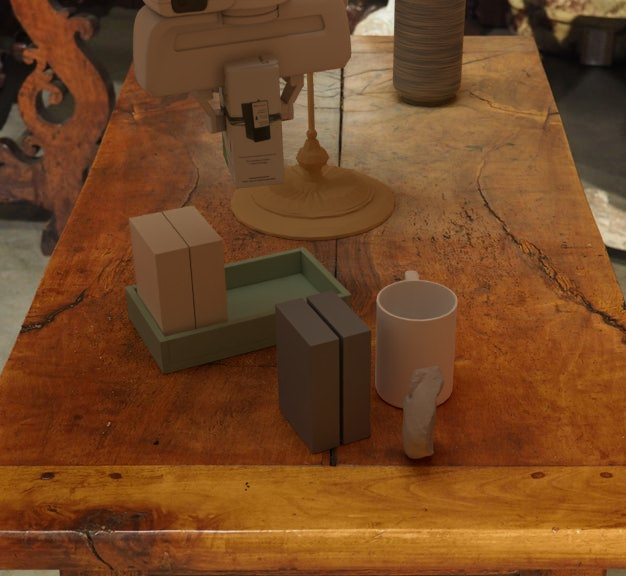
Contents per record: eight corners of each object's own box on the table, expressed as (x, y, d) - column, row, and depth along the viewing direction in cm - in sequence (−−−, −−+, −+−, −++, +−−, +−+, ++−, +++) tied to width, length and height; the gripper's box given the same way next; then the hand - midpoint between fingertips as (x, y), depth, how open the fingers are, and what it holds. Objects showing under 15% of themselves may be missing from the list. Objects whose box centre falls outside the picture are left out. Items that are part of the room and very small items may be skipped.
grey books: (312, 454, 99) (310, 346, 93) (278, 408, 106) (274, 304, 100) (370, 436, 102) (371, 329, 96) (333, 392, 108) (333, 289, 102)
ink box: (221, 155, 107) (213, 38, 101) (270, 150, 108) (265, 34, 102) (234, 191, 100) (225, 67, 94) (286, 185, 101) (281, 63, 95)
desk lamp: (192, 246, 135) (165, -85, 115) (203, 171, 155) (182, -121, 135) (436, 240, 137) (451, -85, 117) (416, 167, 157) (426, -121, 137)
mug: (457, 410, 106) (462, 319, 100) (377, 412, 105) (378, 321, 100) (444, 343, 116) (448, 258, 111) (371, 345, 116) (372, 259, 111)
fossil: (431, 482, 96) (436, 391, 91) (393, 475, 97) (396, 385, 92) (443, 443, 101) (448, 354, 96) (407, 437, 102) (410, 349, 97)
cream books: (165, 356, 111) (154, 254, 105) (139, 315, 118) (128, 217, 112) (229, 339, 114) (223, 239, 108) (201, 301, 121) (193, 205, 115)
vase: (409, 113, 177) (414, -28, 165) (381, 90, 186) (383, -45, 174) (472, 104, 181) (480, -34, 169) (441, 82, 190) (447, -50, 179)
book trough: (163, 374, 110) (160, 342, 108) (128, 317, 120) (124, 286, 118) (351, 325, 119) (351, 294, 117) (304, 275, 129) (304, 246, 127)
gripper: (333, -42, 101) (335, 97, 108) (119, -19, 93) (136, 131, 100) (362, -28, 96) (363, 118, 103) (140, -1, 88) (156, 155, 95)
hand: (250, 125), depth 102 cm, fingers closed on ink box, 5 cm apart
